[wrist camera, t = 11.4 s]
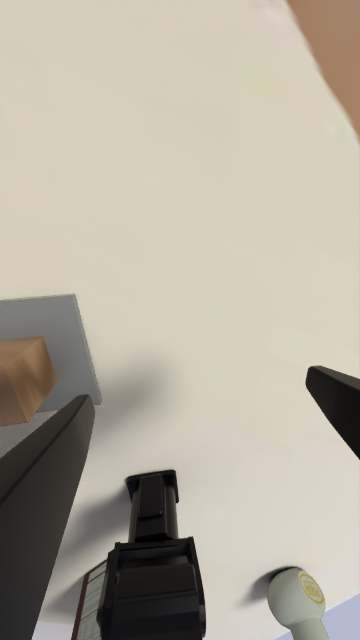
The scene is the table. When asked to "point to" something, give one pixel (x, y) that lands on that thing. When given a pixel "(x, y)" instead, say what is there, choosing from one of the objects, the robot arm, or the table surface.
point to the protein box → (89, 605)
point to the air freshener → (298, 604)
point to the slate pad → (54, 343)
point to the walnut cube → (23, 378)
